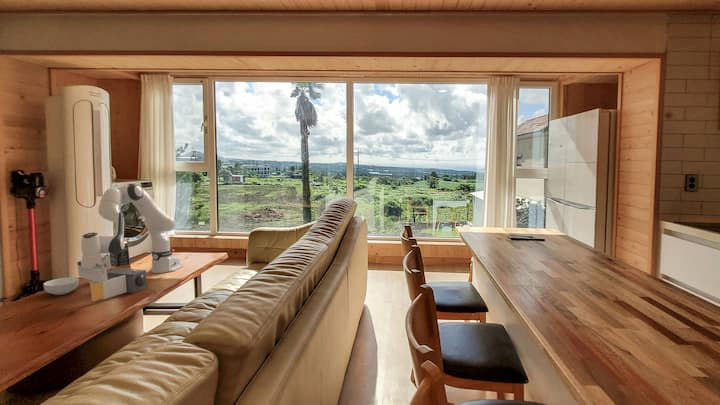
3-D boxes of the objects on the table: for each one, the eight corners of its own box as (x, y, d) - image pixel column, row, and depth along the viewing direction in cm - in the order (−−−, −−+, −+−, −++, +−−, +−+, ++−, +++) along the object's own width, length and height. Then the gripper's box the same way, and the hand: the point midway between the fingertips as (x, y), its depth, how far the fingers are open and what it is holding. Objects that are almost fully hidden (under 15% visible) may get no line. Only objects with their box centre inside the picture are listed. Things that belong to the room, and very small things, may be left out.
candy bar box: (106, 277, 269) (104, 253, 267) (112, 278, 268) (110, 253, 266) (91, 283, 258) (89, 257, 256) (98, 283, 257) (96, 258, 255)
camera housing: (120, 284, 254) (119, 266, 253) (148, 288, 248) (147, 269, 247) (106, 290, 245) (105, 270, 243) (135, 293, 239) (134, 273, 237)
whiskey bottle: (109, 271, 285) (106, 225, 281) (123, 267, 293) (120, 223, 289) (117, 273, 279) (114, 227, 276) (131, 269, 288) (129, 224, 284)
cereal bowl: (86, 290, 245) (85, 278, 244) (58, 299, 229) (57, 287, 228) (66, 287, 250) (65, 275, 249) (37, 295, 235) (36, 283, 234)
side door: (125, 291, 240) (124, 275, 239) (127, 292, 239) (126, 275, 238) (91, 302, 222) (90, 284, 221) (93, 303, 222) (92, 285, 221)
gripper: (109, 263, 221) (111, 288, 223) (86, 259, 230) (88, 283, 232) (98, 266, 216) (99, 292, 217) (74, 262, 225) (76, 286, 226)
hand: (93, 287), depth 225 cm, fingers closed
